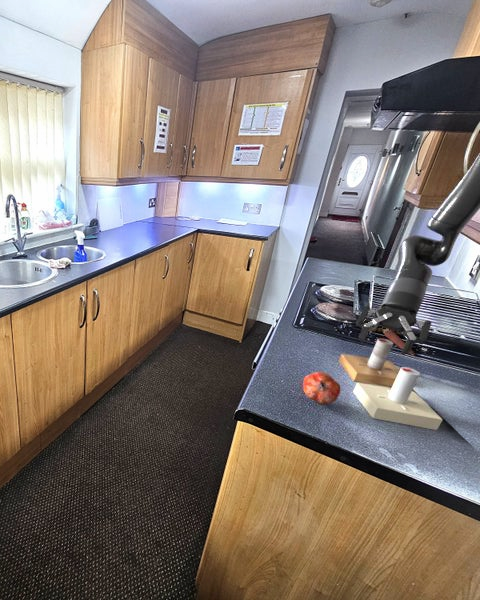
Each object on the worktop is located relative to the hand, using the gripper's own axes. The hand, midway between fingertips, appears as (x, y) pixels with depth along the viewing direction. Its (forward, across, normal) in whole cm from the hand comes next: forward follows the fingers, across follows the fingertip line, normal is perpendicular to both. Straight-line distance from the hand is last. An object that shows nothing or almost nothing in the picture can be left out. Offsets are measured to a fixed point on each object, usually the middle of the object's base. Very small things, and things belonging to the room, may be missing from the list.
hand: (382, 346), depth 88 cm
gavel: (-13, +2, +25) cm, 29 cm away
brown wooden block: (+7, 0, +6) cm, 9 cm away
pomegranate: (+23, -7, -10) cm, 26 cm away
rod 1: (+5, 0, +4) cm, 6 cm away
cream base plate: (+17, +6, -4) cm, 18 cm away
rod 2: (+15, +6, -6) cm, 17 cm away
